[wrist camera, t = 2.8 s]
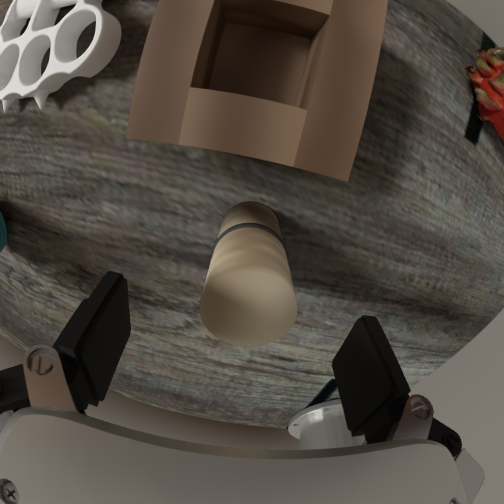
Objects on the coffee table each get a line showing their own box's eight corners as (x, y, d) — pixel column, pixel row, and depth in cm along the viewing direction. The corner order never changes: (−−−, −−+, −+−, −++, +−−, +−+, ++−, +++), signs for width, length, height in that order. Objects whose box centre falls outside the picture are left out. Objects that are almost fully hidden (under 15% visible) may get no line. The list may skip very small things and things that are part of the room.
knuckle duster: (155, -38, 10) (105, 110, 17) (19, -1, 9) (-13, 115, 15) (142, -56, 7) (82, 111, 14) (1, -6, 6) (-33, 119, 12)
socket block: (354, 25, 13) (387, -1, 8) (321, 164, 19) (347, 182, 13) (196, -7, 12) (178, -44, 7) (161, 132, 18) (125, 138, 12)
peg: (287, 207, 20) (313, 279, 11) (272, 260, 22) (283, 353, 13) (226, 194, 20) (203, 259, 11) (215, 249, 22) (193, 338, 13)
